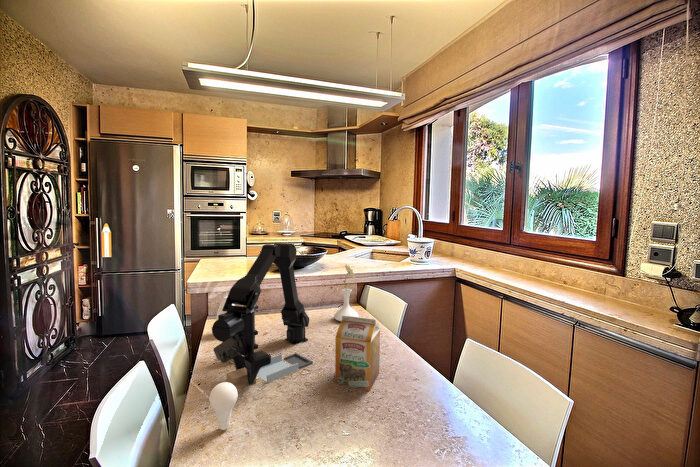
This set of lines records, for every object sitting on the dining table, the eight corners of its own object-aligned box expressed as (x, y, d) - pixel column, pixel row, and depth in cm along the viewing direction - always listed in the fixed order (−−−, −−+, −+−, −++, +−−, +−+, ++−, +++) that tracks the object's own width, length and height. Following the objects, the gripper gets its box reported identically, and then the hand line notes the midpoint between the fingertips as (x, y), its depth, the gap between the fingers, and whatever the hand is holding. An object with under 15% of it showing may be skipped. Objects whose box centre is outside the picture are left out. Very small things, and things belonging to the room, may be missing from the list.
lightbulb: (214, 421, 82) (213, 377, 81) (240, 420, 82) (240, 376, 81) (206, 438, 76) (205, 391, 75) (234, 437, 76) (233, 390, 75)
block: (250, 378, 102) (250, 365, 102) (256, 384, 99) (256, 371, 99) (226, 386, 98) (226, 372, 98) (232, 393, 95) (232, 379, 94)
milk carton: (379, 373, 106) (380, 313, 104) (370, 390, 96) (371, 325, 94) (347, 367, 109) (347, 310, 108) (335, 384, 100) (335, 320, 98)
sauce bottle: (242, 332, 138) (241, 289, 136) (227, 339, 131) (226, 293, 129) (227, 329, 141) (226, 287, 140) (212, 336, 134) (211, 291, 133)
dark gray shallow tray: (296, 355, 118) (296, 352, 118) (312, 364, 111) (312, 361, 111) (283, 360, 114) (283, 357, 114) (300, 369, 108) (300, 366, 108)
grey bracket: (281, 361, 114) (280, 353, 113) (298, 371, 107) (298, 363, 107) (251, 372, 106) (251, 364, 106) (267, 384, 99) (267, 375, 99)
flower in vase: (358, 324, 149) (359, 267, 147) (332, 324, 149) (333, 267, 147) (358, 314, 162) (359, 262, 160) (334, 314, 162) (334, 262, 160)
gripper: (202, 326, 99) (204, 378, 100) (233, 345, 86) (234, 405, 87) (238, 317, 106) (239, 365, 108) (271, 334, 93) (272, 388, 95)
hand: (245, 380), depth 99 cm, fingers open, 6 cm apart
